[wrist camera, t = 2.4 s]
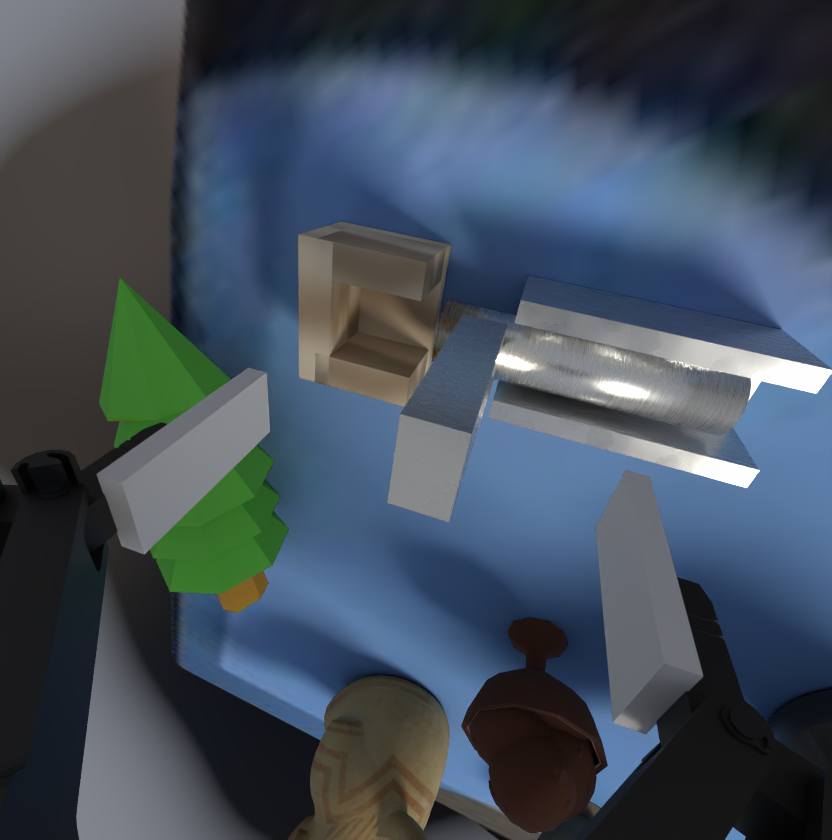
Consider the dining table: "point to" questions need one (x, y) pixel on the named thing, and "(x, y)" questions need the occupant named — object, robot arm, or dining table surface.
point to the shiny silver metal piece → (542, 370)
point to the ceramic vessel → (377, 763)
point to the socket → (368, 308)
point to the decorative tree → (230, 498)
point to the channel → (663, 337)
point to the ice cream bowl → (535, 735)
